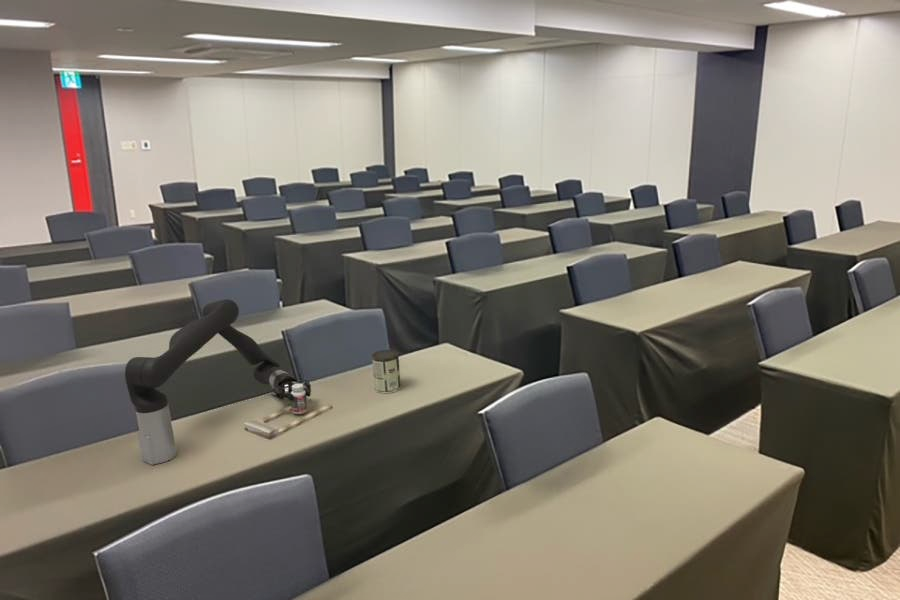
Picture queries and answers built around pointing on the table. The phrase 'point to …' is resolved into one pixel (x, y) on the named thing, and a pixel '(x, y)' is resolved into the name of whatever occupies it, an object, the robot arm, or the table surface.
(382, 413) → the table surface
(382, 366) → the coffee can
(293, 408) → the pill bottle
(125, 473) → the table surface
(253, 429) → the keeper track
